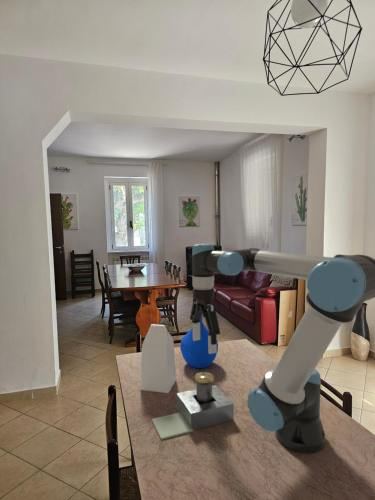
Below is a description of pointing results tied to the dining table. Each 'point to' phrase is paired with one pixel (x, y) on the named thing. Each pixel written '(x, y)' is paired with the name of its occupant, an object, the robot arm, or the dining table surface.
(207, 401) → the grey and gold cylinder
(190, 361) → the vase
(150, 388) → the milk
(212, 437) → the dining table surface
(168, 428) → the mat
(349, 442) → the dining table surface
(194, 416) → the housing
